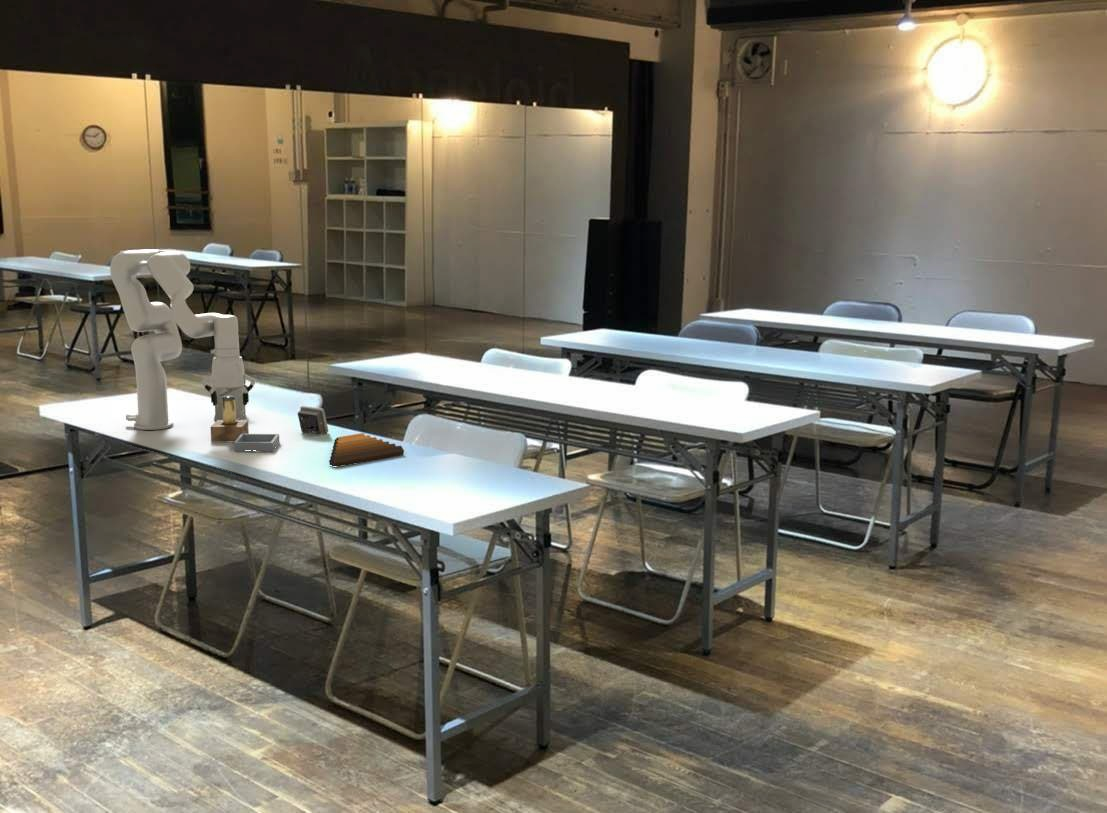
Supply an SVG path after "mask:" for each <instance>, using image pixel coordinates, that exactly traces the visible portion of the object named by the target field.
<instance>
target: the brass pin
mask: <svg viewBox="0 0 1107 813" xmlns="http://www.w3.org/2000/svg"><path fill="white" fill-rule="evenodd" d="M222 402H223V425H236V409H235V396H223V397H222Z"/></svg>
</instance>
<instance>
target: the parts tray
mask: <svg viewBox="0 0 1107 813" xmlns="http://www.w3.org/2000/svg"><path fill="white" fill-rule="evenodd" d="M278 443H279V444H280V433H249V434H241V435H240V436H239V437H238V438H237V439H236V440H235V442H233V452H234V451H245V450H251V451H253V450H256V451H273V450H274V449H275V450H276V448H277V447H278V446H277V445H279V444H278ZM276 446H277V447H276ZM275 447H276V448H275ZM275 450H274V451H275ZM274 451H273V452H274Z"/></svg>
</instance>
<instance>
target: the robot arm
mask: <svg viewBox="0 0 1107 813" xmlns="http://www.w3.org/2000/svg"><path fill="white" fill-rule="evenodd" d="M190 271H191V263H190V259H189V258H188V257H187V255H185V254H184V253H182V252H179V251H171V250H164V249H163V250H162V249H132V250H131V249H130V250H124V251H121V252H118V253H117V254H116V255H114V256H113V258H112V259H111V262H110V266H109V272H110V276H111V279H112V280H111V281H112V283H113V285H114V287H115V289H116V291H117V293H118V296H119V299H120V303H121V306H122V309H123V313H124V315H125V318H126V322H127V324H128V326H129V328H130V330H132V331H133V332H137V333H143V332H145V333H146V332H151V331H154V333H152V334H145V335H142V336H141V335H140V336H139V337H137V338H136V339H135V340H133V342H132V343H131V349H130V350H131V355H132V359H133V363H134V369H135V379H136V380H135V381H136V395H137V397H136V398H137V413H135V414H126V415H125V420H126V421H127V422H132V421H133V422H134V424H133V427H134V429H136V430H139V431H140V430H143V431H159V430H165V429H170V428H172V427H173V426H174V421H173V420H169V409H168V405H169V404H168V387H167V386H168V385H167V375H166V371H165V369H164V367H163V365H162V364H161V362H164V361H165V362H166V361H170V360H174V359H177V358H178V357H179V356H180V355H181V353H182V350H183V344H182V338H181V336H180V332H179V329H180V330H181V331H182V333H184V335H185V336H187V337H189V338H191V339H200V338H206V337H212V336H213V338H214V348H213V349H210V355H214V357H213V358H212V362H211V363H212V364H211V374H210V375H208V376H206V377H205V378H203V379H202V380H201V381H200V382H201V384H202V385H203V386H204V389H205V390H207V391H208V393H209V394H210V402H211V403H212V406H213V407H215V405H217V393H216V389H217V388H241V389H242V391H243V392H244V393H243V405H245V406H247V405H248V403H249V402H250V400H249V397H250V396H249V392H250V391H251V390H252V389H253V388H254V386H255V384H256V382H257V379H256V378H255V377H252V376H251V375H248V374H246V373H245V366H244V361H243V357H242V356H241V354H240V341H239V340H240V339H239V336H240V335H239V320H238V317H237V316H236V315H234V314H233V315H232V314H222V313H217V312H206V313H200V314H194V313H193V311H192V310H191V309H190V308H189V306H188V304H187V302H186V299H187V298H189V297H190V296H192V295H191V294H193V291H194V284H193V283H192V282H191V281H190V279H189V278H188V277H187V275H188V274H189V273H190ZM138 276H152V277H153V278H154V279H155V281H156V283H157V284H158V285H160V287H161V288H162V290H163V291H164V292H165V294H166V295H167V296H168V298H169V299H170V307H169V306H168V305H167V304H166V303H164V302H161V301H152V302H151V301H150V300H149V297H148V294H147V291H146V288H145V287H144V285H143V284H142V283H141V282H140V280H138V279H137V277H138ZM178 327H179V329H178ZM210 381H211V385H209V383H208V382H210ZM246 381H247V382H248V381H249V382H250V384H249V385H247V384H246ZM246 385H247V386H248V387H247V386H246Z"/></svg>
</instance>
